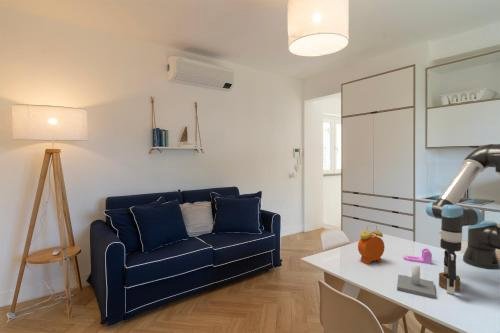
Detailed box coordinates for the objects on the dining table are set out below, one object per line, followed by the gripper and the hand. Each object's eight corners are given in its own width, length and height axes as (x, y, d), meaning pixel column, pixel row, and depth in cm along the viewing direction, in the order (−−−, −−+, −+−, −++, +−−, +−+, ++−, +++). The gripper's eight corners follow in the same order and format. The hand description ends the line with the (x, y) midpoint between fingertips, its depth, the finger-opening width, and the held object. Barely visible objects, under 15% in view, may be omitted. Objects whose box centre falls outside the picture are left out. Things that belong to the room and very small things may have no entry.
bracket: (429, 260, 153) (429, 248, 153) (431, 264, 148) (431, 251, 148) (402, 257, 158) (403, 245, 158) (404, 260, 153) (404, 248, 153)
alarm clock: (376, 257, 157) (377, 223, 156) (384, 261, 151) (385, 225, 150) (357, 260, 153) (357, 225, 152) (364, 264, 147) (365, 228, 146)
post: (433, 284, 125) (433, 264, 125) (435, 298, 113) (436, 276, 113) (398, 277, 132) (398, 258, 132) (397, 290, 120) (397, 268, 120)
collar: (458, 285, 124) (458, 274, 124) (460, 292, 118) (461, 281, 118) (438, 281, 128) (438, 271, 128) (439, 288, 122) (440, 277, 121)
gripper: (438, 231, 135) (436, 274, 136) (443, 246, 113) (441, 296, 114) (457, 234, 131) (455, 277, 132) (466, 250, 109) (463, 302, 110)
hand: (448, 286), depth 123 cm, fingers open, 13 cm apart
